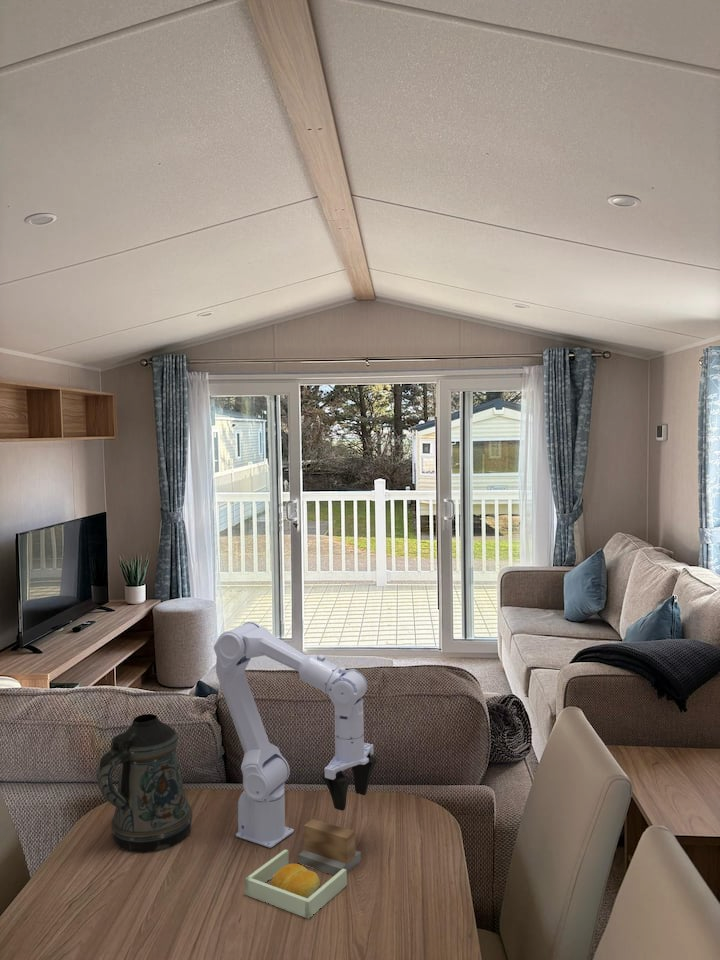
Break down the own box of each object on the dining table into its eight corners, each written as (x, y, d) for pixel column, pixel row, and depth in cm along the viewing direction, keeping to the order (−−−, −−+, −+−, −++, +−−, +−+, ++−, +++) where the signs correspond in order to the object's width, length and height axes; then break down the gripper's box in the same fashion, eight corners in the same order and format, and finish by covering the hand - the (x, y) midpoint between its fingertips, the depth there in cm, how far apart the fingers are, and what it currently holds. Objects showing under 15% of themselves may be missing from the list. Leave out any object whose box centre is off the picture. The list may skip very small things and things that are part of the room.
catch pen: (245, 894, 146) (244, 878, 146) (285, 864, 157) (285, 849, 156) (308, 919, 139) (308, 902, 139) (346, 885, 149) (346, 869, 149)
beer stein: (204, 817, 176) (201, 705, 174) (167, 865, 157) (164, 739, 155) (133, 812, 179) (130, 701, 177) (89, 858, 160) (84, 734, 158)
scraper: (298, 864, 157) (297, 829, 156) (318, 848, 163) (318, 814, 162) (341, 879, 152) (340, 843, 151) (360, 862, 157) (360, 827, 157)
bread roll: (296, 910, 142) (296, 888, 142) (264, 890, 148) (264, 869, 148) (330, 890, 148) (330, 869, 148) (298, 872, 154) (297, 852, 154)
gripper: (345, 750, 151) (346, 821, 152) (385, 726, 163) (386, 791, 164) (315, 743, 155) (316, 812, 156) (356, 719, 167) (357, 783, 168)
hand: (350, 801), depth 160 cm, fingers open, 7 cm apart
